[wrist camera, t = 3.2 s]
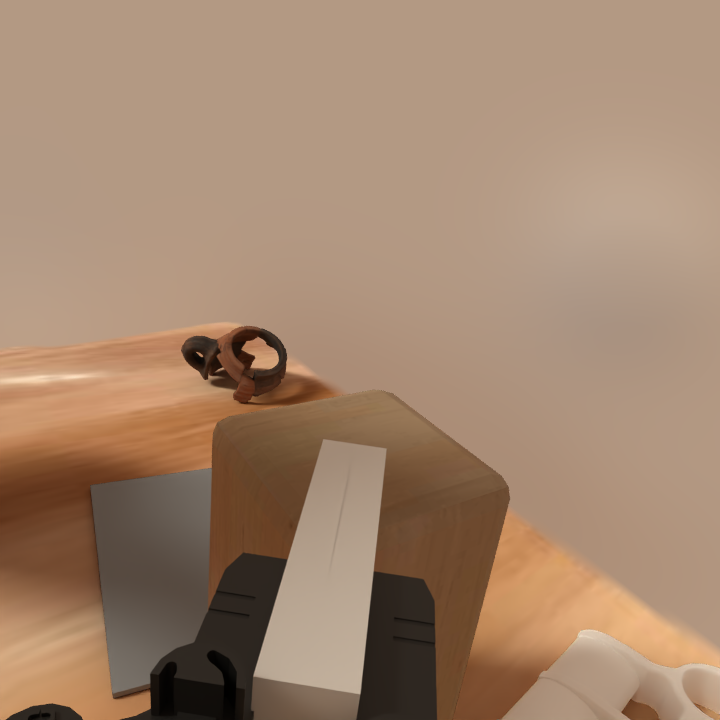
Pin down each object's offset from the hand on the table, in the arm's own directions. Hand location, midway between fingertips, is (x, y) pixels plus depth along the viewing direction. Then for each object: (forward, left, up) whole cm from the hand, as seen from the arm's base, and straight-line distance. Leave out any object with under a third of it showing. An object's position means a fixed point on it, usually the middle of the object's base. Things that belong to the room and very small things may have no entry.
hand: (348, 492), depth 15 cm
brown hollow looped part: (-54, +12, -25) cm, 61 cm away
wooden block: (-9, +5, -25) cm, 28 cm away
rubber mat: (-27, +7, -25) cm, 37 cm away
